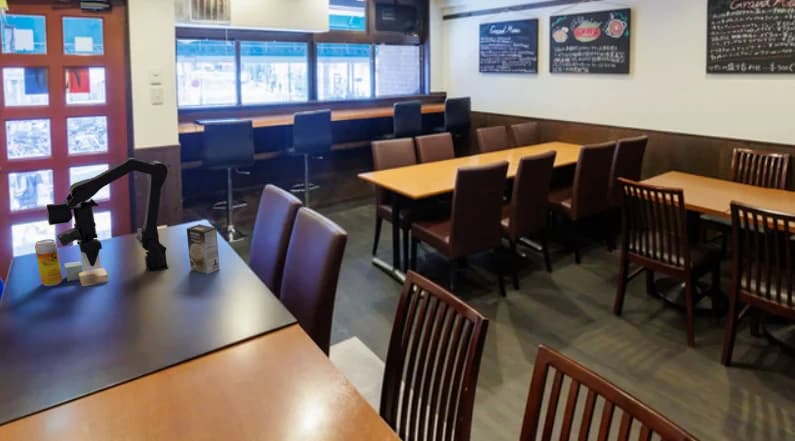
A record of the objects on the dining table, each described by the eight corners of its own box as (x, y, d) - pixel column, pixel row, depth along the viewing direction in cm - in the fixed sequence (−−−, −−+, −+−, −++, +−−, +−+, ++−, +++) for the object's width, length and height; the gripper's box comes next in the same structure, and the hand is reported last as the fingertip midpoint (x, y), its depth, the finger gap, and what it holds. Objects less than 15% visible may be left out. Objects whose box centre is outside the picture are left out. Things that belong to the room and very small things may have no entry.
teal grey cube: (82, 274, 193) (80, 260, 192) (84, 278, 189) (82, 264, 188) (66, 276, 190) (64, 263, 189) (67, 281, 187) (65, 267, 185)
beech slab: (105, 275, 193) (103, 267, 192) (108, 282, 186) (107, 274, 186) (79, 280, 188) (78, 272, 187) (82, 287, 182) (81, 279, 181)
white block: (99, 263, 189) (96, 247, 188) (101, 267, 185) (98, 251, 184) (82, 266, 186) (80, 250, 185) (84, 270, 183) (81, 253, 181)
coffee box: (189, 270, 197) (185, 228, 193) (203, 264, 203) (199, 223, 198) (207, 274, 193) (203, 231, 189) (220, 268, 199) (217, 227, 194)
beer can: (52, 287, 181) (45, 244, 177) (37, 285, 182) (29, 243, 178) (66, 280, 187) (59, 239, 183) (51, 279, 188) (44, 238, 184)
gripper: (54, 217, 184) (62, 260, 188) (58, 230, 170) (67, 276, 174) (91, 213, 190) (97, 254, 195) (98, 225, 176) (105, 269, 180)
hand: (91, 263), depth 186 cm, fingers closed on white block, 5 cm apart
